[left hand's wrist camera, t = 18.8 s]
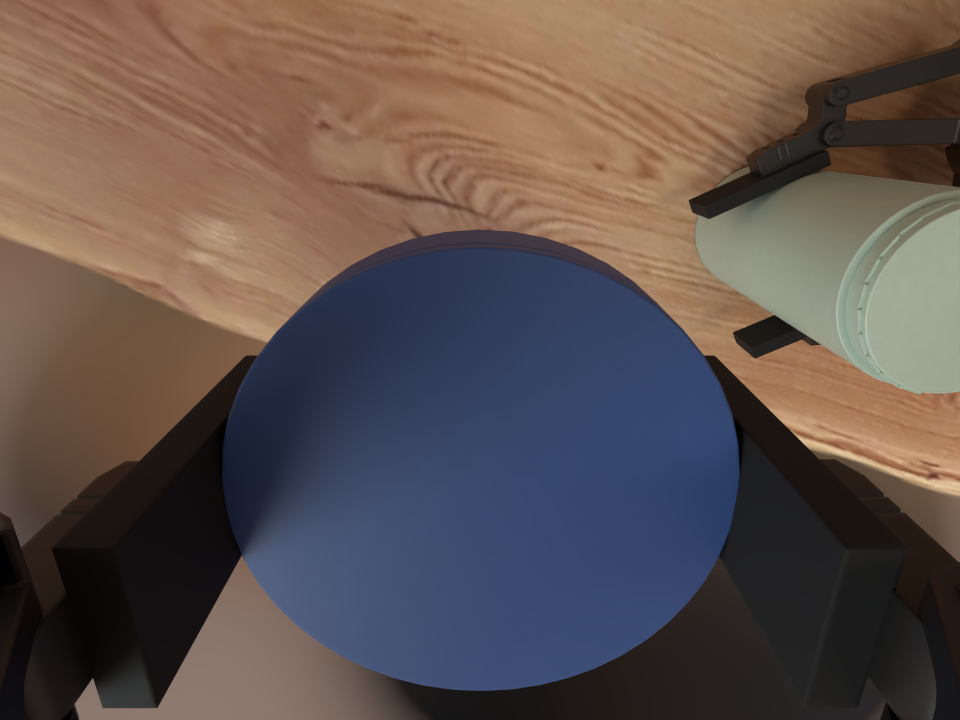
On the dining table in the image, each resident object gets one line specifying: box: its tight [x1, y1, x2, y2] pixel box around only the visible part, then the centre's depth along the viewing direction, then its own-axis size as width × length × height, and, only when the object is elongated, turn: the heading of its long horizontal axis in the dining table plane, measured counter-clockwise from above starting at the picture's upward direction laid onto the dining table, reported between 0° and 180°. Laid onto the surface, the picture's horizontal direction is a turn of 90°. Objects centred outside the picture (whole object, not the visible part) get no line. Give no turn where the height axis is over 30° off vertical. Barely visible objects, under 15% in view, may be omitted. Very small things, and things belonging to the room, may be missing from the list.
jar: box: [695, 166, 960, 394], centre depth 31 cm, size 8×8×18 cm
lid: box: [222, 230, 740, 691], centre depth 11 cm, size 9×9×2 cm
